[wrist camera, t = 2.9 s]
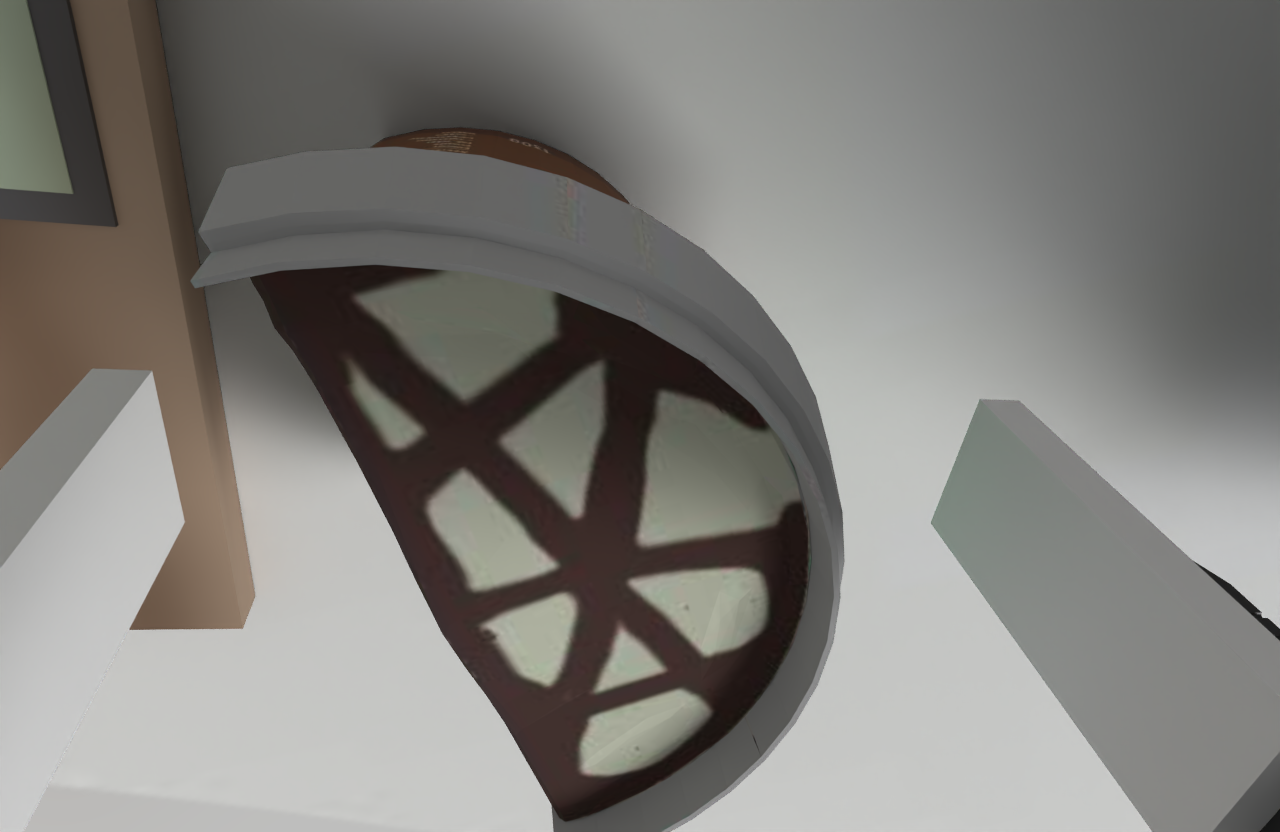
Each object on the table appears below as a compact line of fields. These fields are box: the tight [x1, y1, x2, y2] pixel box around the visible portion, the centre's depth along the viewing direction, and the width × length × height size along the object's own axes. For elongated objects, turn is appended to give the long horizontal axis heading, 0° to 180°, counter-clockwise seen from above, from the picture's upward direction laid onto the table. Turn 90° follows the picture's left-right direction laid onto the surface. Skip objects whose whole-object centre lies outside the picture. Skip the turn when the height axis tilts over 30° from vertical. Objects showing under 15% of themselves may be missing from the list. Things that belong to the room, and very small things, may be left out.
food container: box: [190, 127, 844, 832], centre depth 15 cm, size 12×6×10 cm, turn 14°
